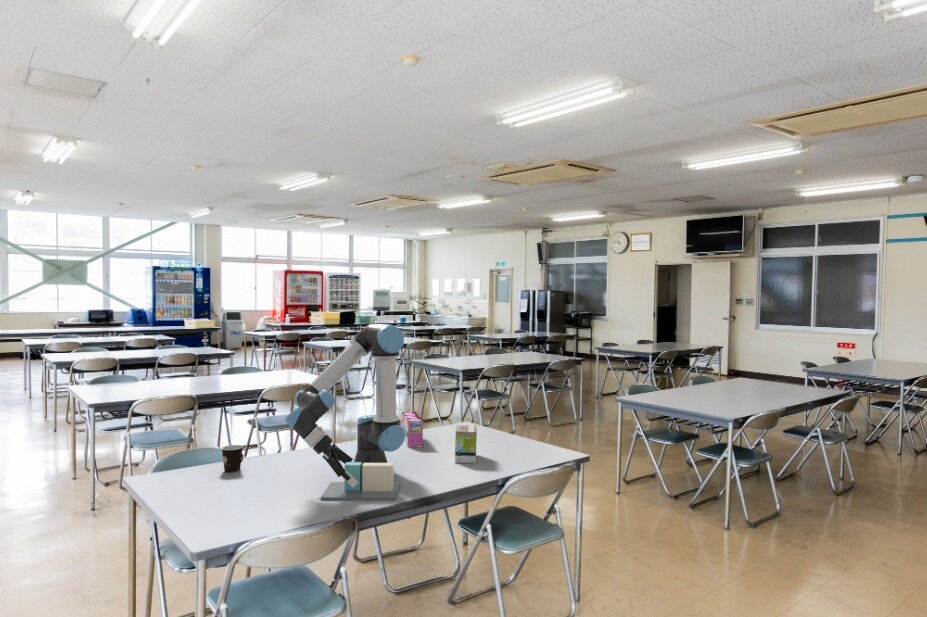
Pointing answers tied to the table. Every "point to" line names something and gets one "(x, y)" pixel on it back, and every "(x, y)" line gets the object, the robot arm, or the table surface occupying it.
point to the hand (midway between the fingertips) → (358, 479)
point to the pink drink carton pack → (412, 429)
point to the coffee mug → (232, 457)
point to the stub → (354, 475)
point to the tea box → (465, 444)
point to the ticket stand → (367, 485)
